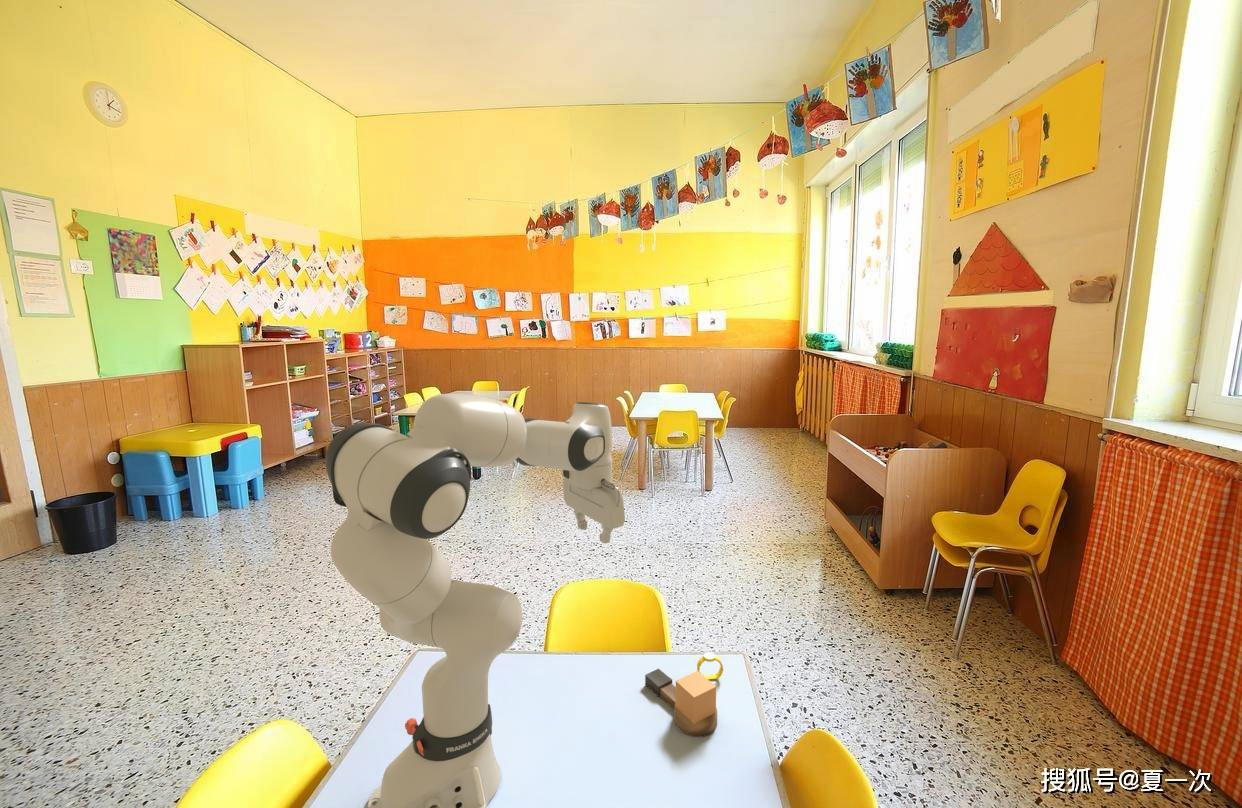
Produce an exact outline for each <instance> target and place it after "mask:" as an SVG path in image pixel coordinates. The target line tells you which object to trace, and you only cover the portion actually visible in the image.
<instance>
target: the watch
mask: <svg viewBox="0 0 1242 808" xmlns="http://www.w3.org/2000/svg"><path fill="white" fill-rule="evenodd" d="M714 661H716V662H718V663H719V665H720V667H719V669H718V671H717V672H716V673H715V674H709V675H704V674H703V673H701V670H700V667H701V665H702V664H703V663H704V662H707V663H709V662H710V663H712V662H714ZM696 669H697V670H696V671H698V672H699V673H701V674H702V675H703V676H704V677H705V678H707V679H708V680H709V681H711V680H718V679H719V678H720V677H721V676H722V675H723V672H724V666H723V662H722V661H721V659H720V658H719V656H716V654H715V653H713V652H711V651H708V652H704V654H703V655H702V657H701V658H699V660H698V661H697V664H696Z"/></svg>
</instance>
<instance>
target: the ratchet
mask: <svg viewBox="0 0 1242 808" xmlns="http://www.w3.org/2000/svg"><path fill="white" fill-rule="evenodd" d="M644 676H645V677H644V681H645V683H644V685H645V686H646V687H647V688H648V689H649V690H650V691H651V692H653V694H655V695H656V696H657V697H658V698H659V697H660V698H661V699H662V700H663V701H664V702H665V703H667V705H669V706H670V707H671V708H672V709H674V719H673V721H674V723H675V726H676V727H677V729H678V730H680V732H682V733H683V734H685V735H687V736H691V737H698V738H699V737H706V736H710V735H711V734H712V733H713V732H714V731H715V730H716V729H717V725H718V708H717V707H716V713H714V714H712V715H710V716H708V717H706V718H705V719H703V720H701V721H699V722H697V723H695V724H693V723H692V722H691V721H690V720H689V719H688V718H687V717H686V716H685V715H684V714H683V713H682V712H681V711H680V710H679V709H678V708H676V707H675V700H676V685H674V684H673V679H672V678H670V676H668V675H667V674H666V673H665V672H663V670H661V669H660V668H657V669H655V670H653V671H650V672H648V673H646V674H645V675H644Z"/></svg>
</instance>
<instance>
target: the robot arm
mask: <svg viewBox="0 0 1242 808" xmlns="http://www.w3.org/2000/svg"><path fill="white" fill-rule="evenodd" d="M523 415H524V414H522V412H520V411H519V410H518V409H517V408H515V407H514V406H512V405H510V404H508V403H506V402H504V401H501V400H497V399H493V398H490V397H487V396H482V395H475V394H470V393H469V394H468V393H467V394H466V393H439V394H436V395H434V396H431V397H429V398H428V399H426V400H425V401H424V402H423V403H422V404H421V405H420V407H419V408H418V410H417V411H416V414H415V416H414V420H413V426H412V427H413V428H412V429H411V430H410V431H408V432H407V433H406V435H405V434H403V433H399V432H397V431H395V430H394V429H392V428H391V427H389V426H387V425H383V424H381V423H380V424H379V423H375V422H359V423H358V422H357V423H354V424H350V425H349V426H346V427H344V428H343V429H341V430H340V431H339V432H338V433H336V435H335V436H334V437H333V438H332V440H331V441H330V443H329V444H328V447H327V449H326V452H325V457H324V458H325V460H324V461H325V462H324V463H325V464H324V465H325V470H326V473H327V477H328V479H329V482H330V484H331V489H332V498H333V500H334V503H335V504H336V505H338V506H341V507H344V508H346V509H347V516H346V519H345V520H344V521H343V522H342V524H341V525H340V526H338V528H337V530H336V531H335V533H334V535H333V538H332V540H331V543H330V556H331V560H332V562H333V564H334V567H336V569H337V570H338V572H339V573H340V575H341V576H342V577H343V578H344V579H345V581H346V582H347V583H348V584H349V585H350V586H351V587H352V588H353V589H354V590H355V591H356V592H357V593H359V595H360V596H363V597H364V598H365V599H366V600H367V601H369V602H370V603H372V604H373V605H375V606H376V607H377V608H379V611H378V612H379V617H378V618H379V623H380V626H381V627H382V630H383V632H384V631H385V632H386V633H387V634H389V635H391V636H392V637H393V636H394V637H396V638H397V639H400V640H403V641H405V642H407V643H411V644H416V645H417V644H418V645H423V646H426V647H427V646H428V647H435V648H439V649H442V650H443V651H444V652H445V656H444V657H442V658H439V660H437V661H436V662H435V663H433V664H432V665H431V667H429V669H428V670H427V671H426V673H425V676H424V678H423V680H422V684H421V695H422V696H421V697H422V698H421V699H422V712H423V713H422V714H423V716H422V720H421V721H420V723H419V724H418V721H417V719H416V718H413V717H410V718H409V719H407V720H406V722H405V723H404V728H405V730H406V733H407V734H408V735H409V736H411V737H412V739H411V740H412V741H410V743H409V744H408V745H407V746H406V747H405V748H404V749H403V750H402V751H401V752H400V754H398V755H397V756H396V757H395V758H394V759H393V760H392V761H391V762H390V763H389V764H388V765H387V767H386V768H385V771H384V772H383V775H382V778H381V779H382V780H381V785H379V786H378V787H377V788H376V789H374V790H373V791H372V793H371V795H370V796H369V800H368V801H367V802H368V803H367V808H486V807H488V805H489V803H490V802H491V800H492V799H493V798H494V796H495V795H496V793H497V790H499V787H500V783H501V779H502V778H501V777H502V775H501V774H502V773H501V769H500V766H499V764H498V761H497V758H496V755H495V751H494V747H493V741H492V734H493V716H492V714H493V713H492V709H491V708H492V707H491V704H489V693H488V692H489V672H490V668H491V666H492V664H493V661H494V660H495V659H496V658H497V657H498V656H499V655H501V654H502V653H504V652H506V651H507V650H508V649H510V647H511V646H512V645H513V644H514V643H515V641H516V640H517V638H518V637H519V634H520V632H521V629H522V626H523V618H524V617H523V608H522V605H521V602H520V600H519V598H518V596H517V595H516V594H514V593H512V592H510V591H509V590H506V589H503V588H500V587H498V586H494V585H493V584H492V585H491V584H485V583H477V582H470V581H463V580H459V579H454V578H453V579H452V568H451V565H450V563H449V561H448V560H447V558H446V557H445V556H444V555H443V553H441V552H440V550H438V549H437V548H436V547H435V546H434V545H433V544H432V543H431V542H430V541H429V540H432V539H434V538H437V537H440V536H441V535H444V534H445V533H446V532H447V531H449V530H450V529H452V528H453V527H454V526H455V525H456V524H457V523H458V522H459V520H460V519H461V517H462V516H463V515H464V513H465V510H466V508H467V505H468V503H469V502H468V501H469V498H470V491H471V480H472V468H471V467H473V468H474V467H476V468H495V467H502V466H507V465H510V464H512V463H514V462H515V461H516V462H517V463H518V464H520V465H521V466H526V467H527V466H528V467H541V468H548V469H556V470H561V476H562V477H563V481H562V488H563V490H562V492H563V499H564V502H565V505H567V506H568V507H570V508H571V509H573V510H574V516H575V519H576V522H577V529H579V530H580V531H583V530H587V529H588V520H587V519H586V517H588V518H589V519H592V520H593V521H595V522H597V523H598V524H600V525H601V529H602V531H601V533H599V541H600V542H601V543H603V544H608V543H609V544H610V542H611V534H612V531H613V530H614V529H617V528H621V527H623V526H624V524H625V522H626V513H625V504H624V503H625V502H624V497H623V495H622V493H621V491H620V489H619V488H618V486H617V484H616V483H614V481H613V479H614V478H613V457H612V452H611V448H612V444H613V426H612V418H611V412H610V409H609V406H608V405H606V404H605V403H603V402H592V401H591V402H590V401H589V402H588V401H587V402H586V401H578V402H576V403H574V404H573V408H572V414H571V416H570V417H569V418H568V419H567V420H565V421H555V420H543V419H539V418H532V417H528V418H527V417H526V418H524V416H523Z"/></svg>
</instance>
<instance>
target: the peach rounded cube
mask: <svg viewBox="0 0 1242 808" xmlns="http://www.w3.org/2000/svg"><path fill="white" fill-rule="evenodd" d="M702 674H703V673H699V672H698V671H697V670H696V671H694V672H692V673H689V674H687V675H684V676H683V677H680V678H678V679H676V680H675V687H676V700H675V707H676V708H678V709H679V710H680V711H681V712H682V713H683V714H684V715H685V716H686V717H687V718H688V719H689V720H690V721H691V722H692V723H693V724H695V723H697V722H699V721H701V720H703V719H705V718H706V717H708V716H710V715H712V714H714V713H716V708H717V686H716V685H715V684H714V683H713V682H711V680H708V679H707V678H705V677H704V676H703V675H704V674H703V675H702Z"/></svg>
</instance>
